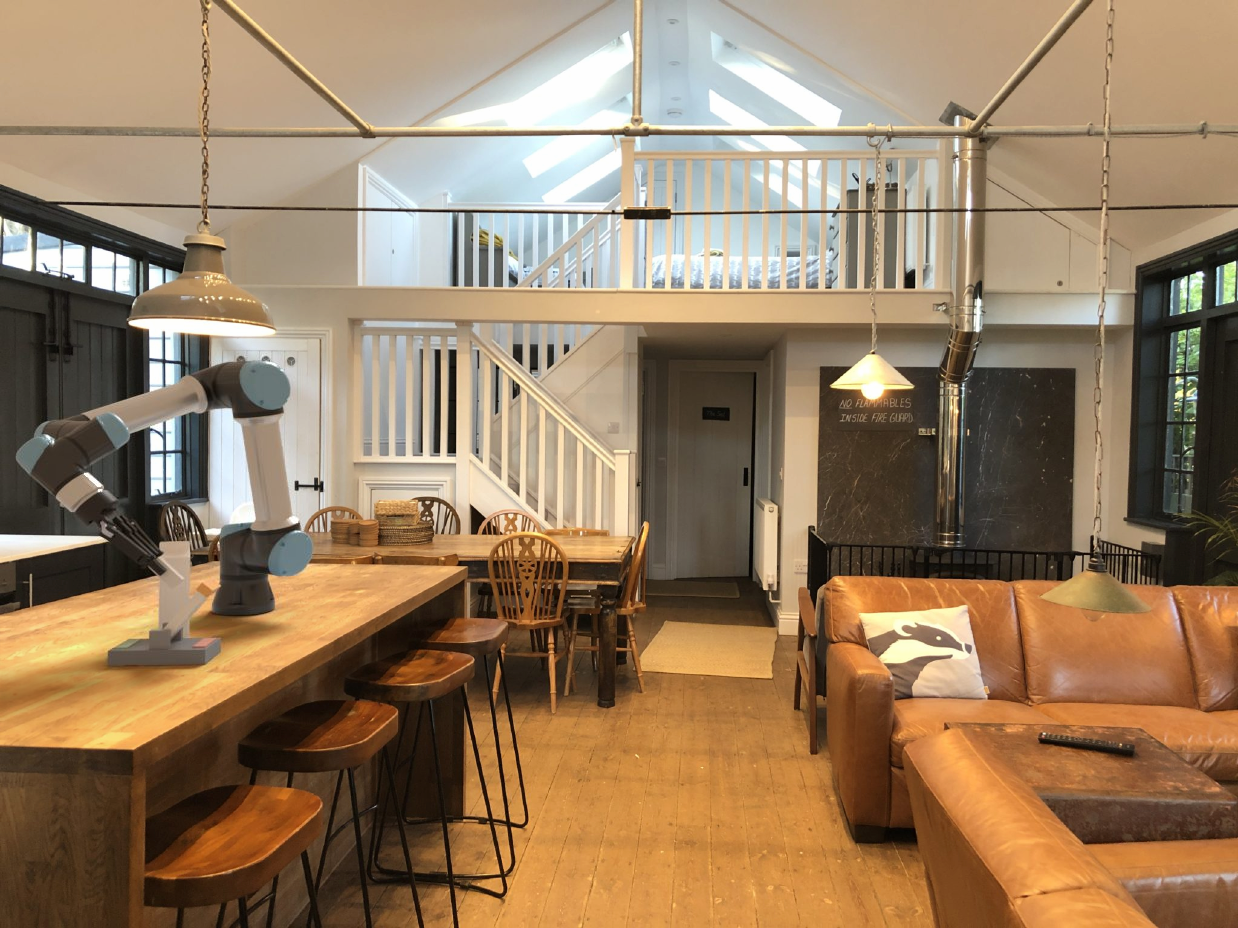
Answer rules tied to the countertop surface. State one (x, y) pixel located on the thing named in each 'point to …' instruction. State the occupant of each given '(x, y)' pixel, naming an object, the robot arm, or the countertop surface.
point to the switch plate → (164, 650)
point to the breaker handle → (192, 606)
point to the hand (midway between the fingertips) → (178, 583)
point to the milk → (178, 596)
